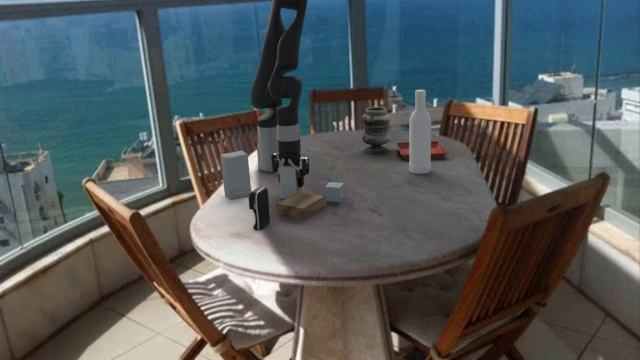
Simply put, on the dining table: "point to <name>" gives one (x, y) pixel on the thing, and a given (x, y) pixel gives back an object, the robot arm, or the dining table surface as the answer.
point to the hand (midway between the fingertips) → (291, 185)
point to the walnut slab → (301, 205)
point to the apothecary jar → (376, 129)
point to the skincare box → (236, 174)
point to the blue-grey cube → (334, 192)
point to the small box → (288, 181)
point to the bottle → (420, 136)
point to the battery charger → (260, 207)
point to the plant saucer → (436, 149)
